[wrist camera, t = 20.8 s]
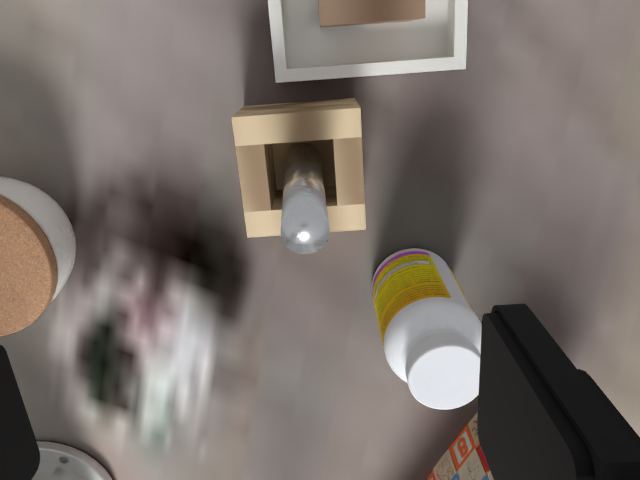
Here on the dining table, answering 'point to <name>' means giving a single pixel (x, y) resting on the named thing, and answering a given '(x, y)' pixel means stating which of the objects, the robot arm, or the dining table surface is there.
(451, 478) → the stack of blocks
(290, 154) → the steel pin
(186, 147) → the dining table surface
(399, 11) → the walnut block
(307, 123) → the oak block
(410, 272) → the supplement bottle
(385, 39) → the tray
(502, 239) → the dining table surface
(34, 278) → the lidded jar
